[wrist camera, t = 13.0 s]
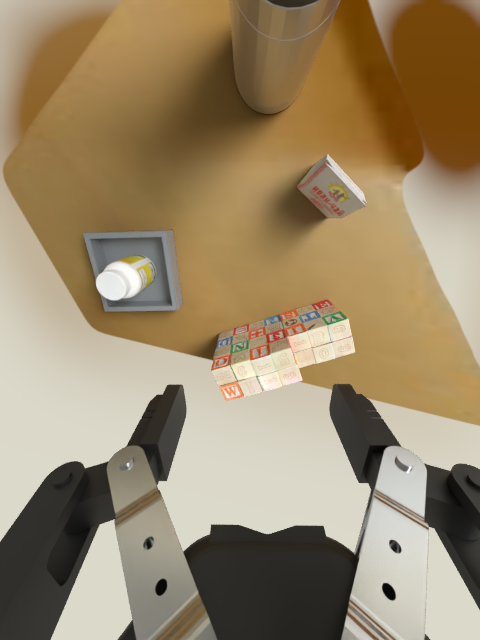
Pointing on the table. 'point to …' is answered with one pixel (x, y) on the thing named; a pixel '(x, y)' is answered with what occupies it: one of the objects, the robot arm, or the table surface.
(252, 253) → the table surface
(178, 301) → the box
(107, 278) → the supplement bottle
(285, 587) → the robot arm
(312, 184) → the herbal tea box
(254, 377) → the stack of blocks
